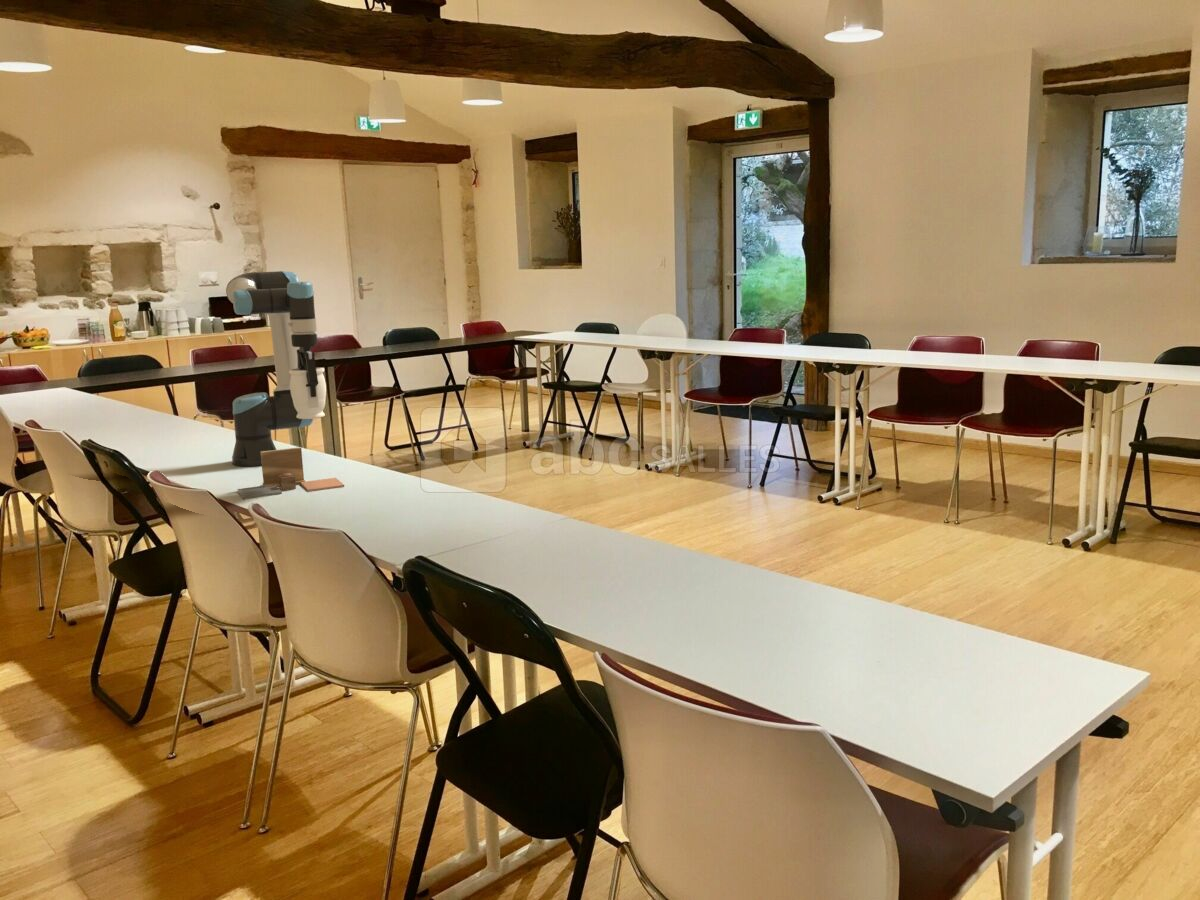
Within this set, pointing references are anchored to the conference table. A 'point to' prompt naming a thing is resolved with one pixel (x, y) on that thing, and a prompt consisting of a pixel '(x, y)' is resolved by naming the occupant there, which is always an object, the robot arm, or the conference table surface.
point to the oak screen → (281, 465)
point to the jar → (301, 393)
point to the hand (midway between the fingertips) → (309, 405)
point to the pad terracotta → (322, 484)
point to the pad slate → (258, 491)
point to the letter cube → (287, 481)
